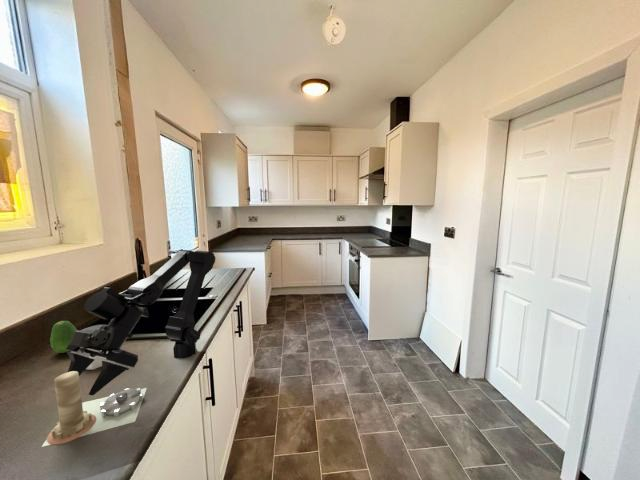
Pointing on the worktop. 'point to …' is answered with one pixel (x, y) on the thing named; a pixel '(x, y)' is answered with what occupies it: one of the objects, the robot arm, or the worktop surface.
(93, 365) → the jar
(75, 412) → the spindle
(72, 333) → the avocado
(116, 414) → the gear
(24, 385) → the worktop surface
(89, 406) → the board
